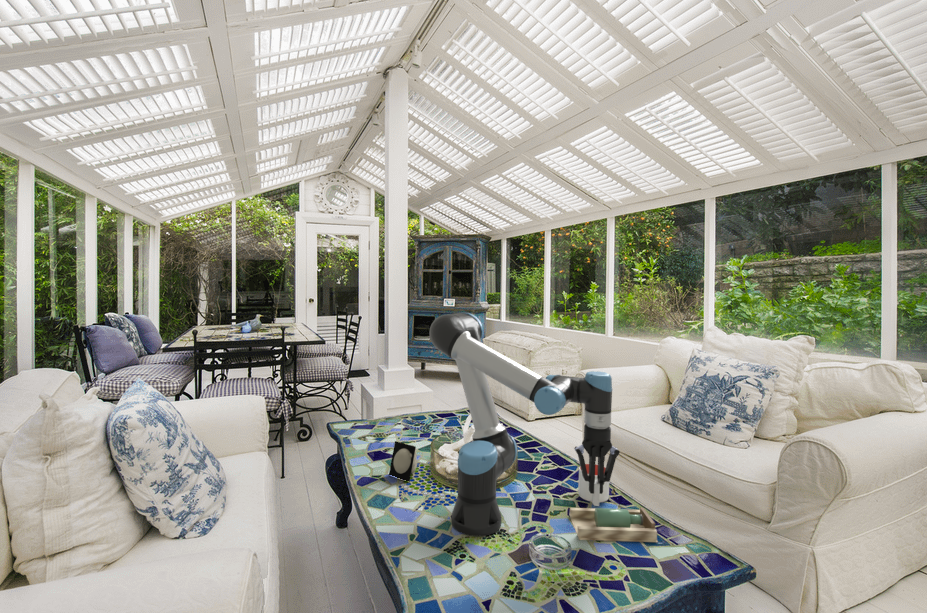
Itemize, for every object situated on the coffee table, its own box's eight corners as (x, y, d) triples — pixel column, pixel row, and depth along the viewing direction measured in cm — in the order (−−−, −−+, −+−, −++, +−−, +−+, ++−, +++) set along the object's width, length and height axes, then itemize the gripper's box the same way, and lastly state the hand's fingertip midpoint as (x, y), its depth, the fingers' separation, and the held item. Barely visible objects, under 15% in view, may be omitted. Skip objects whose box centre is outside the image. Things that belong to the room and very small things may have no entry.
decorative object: (401, 474, 174) (421, 481, 168) (383, 476, 165) (404, 483, 160) (407, 440, 176) (427, 446, 171) (390, 441, 167) (411, 446, 162)
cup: (610, 507, 147) (611, 477, 146) (578, 503, 149) (579, 474, 148) (606, 493, 157) (607, 465, 156) (577, 489, 159) (578, 462, 158)
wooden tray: (579, 543, 126) (579, 525, 126) (568, 517, 140) (569, 501, 140) (658, 545, 126) (658, 528, 125) (639, 519, 140) (640, 503, 139)
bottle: (599, 513, 130) (645, 515, 129) (594, 504, 135) (638, 506, 135) (598, 531, 130) (644, 533, 130) (594, 522, 136) (638, 523, 135)
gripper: (578, 428, 128) (576, 509, 129) (624, 429, 127) (621, 510, 128) (572, 420, 135) (570, 497, 136) (615, 421, 135) (613, 498, 136)
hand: (595, 503), depth 132 cm, fingers closed
